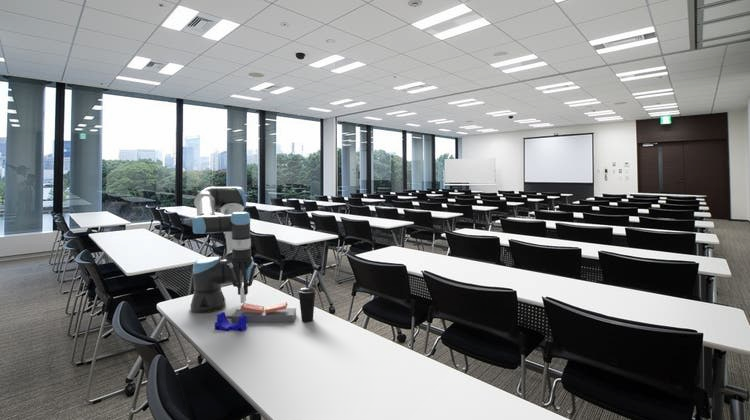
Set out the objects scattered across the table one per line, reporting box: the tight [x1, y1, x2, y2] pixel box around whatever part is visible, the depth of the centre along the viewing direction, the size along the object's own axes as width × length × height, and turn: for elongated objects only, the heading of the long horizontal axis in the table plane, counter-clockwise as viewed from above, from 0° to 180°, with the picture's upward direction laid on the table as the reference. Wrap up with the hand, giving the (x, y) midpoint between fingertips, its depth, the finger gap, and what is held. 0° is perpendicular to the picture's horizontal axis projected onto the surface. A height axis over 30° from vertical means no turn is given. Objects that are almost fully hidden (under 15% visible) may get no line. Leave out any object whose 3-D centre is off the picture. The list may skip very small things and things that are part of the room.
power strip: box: [226, 307, 297, 324], centre depth 157 cm, size 31×8×3 cm, turn 94°
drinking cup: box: [297, 275, 317, 323], centre depth 156 cm, size 8×8×20 cm
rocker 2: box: [264, 301, 288, 313], centre depth 157 cm, size 9×4×2 cm, turn 93°
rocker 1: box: [240, 302, 265, 313], centre depth 157 cm, size 9×4×2 cm, turn 96°
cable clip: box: [214, 311, 248, 333], centre depth 147 cm, size 12×4×6 cm, turn 74°
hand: (243, 301), depth 156 cm, fingers closed
